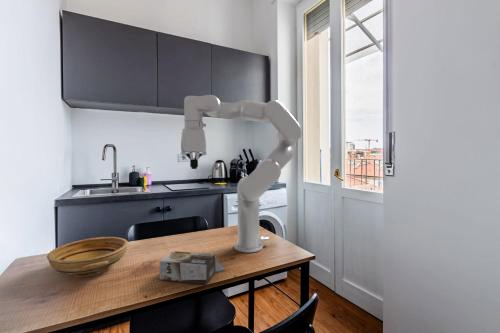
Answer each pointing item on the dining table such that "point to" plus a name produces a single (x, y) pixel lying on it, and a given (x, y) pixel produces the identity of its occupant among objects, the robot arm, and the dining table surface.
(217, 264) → the grey mat
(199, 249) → the dining table surface
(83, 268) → the brown oval basket
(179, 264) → the coffee box
